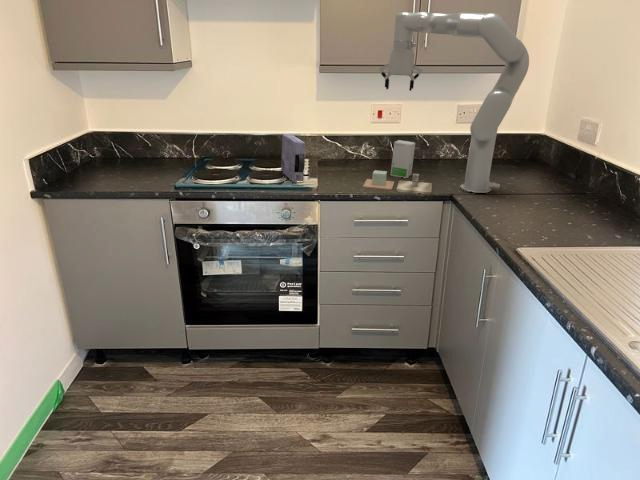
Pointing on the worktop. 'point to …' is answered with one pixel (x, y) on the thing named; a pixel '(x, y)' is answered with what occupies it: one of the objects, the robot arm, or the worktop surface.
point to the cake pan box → (293, 157)
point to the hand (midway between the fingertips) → (398, 89)
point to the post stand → (414, 186)
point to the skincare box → (402, 158)
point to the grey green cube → (379, 178)
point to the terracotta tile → (369, 185)
